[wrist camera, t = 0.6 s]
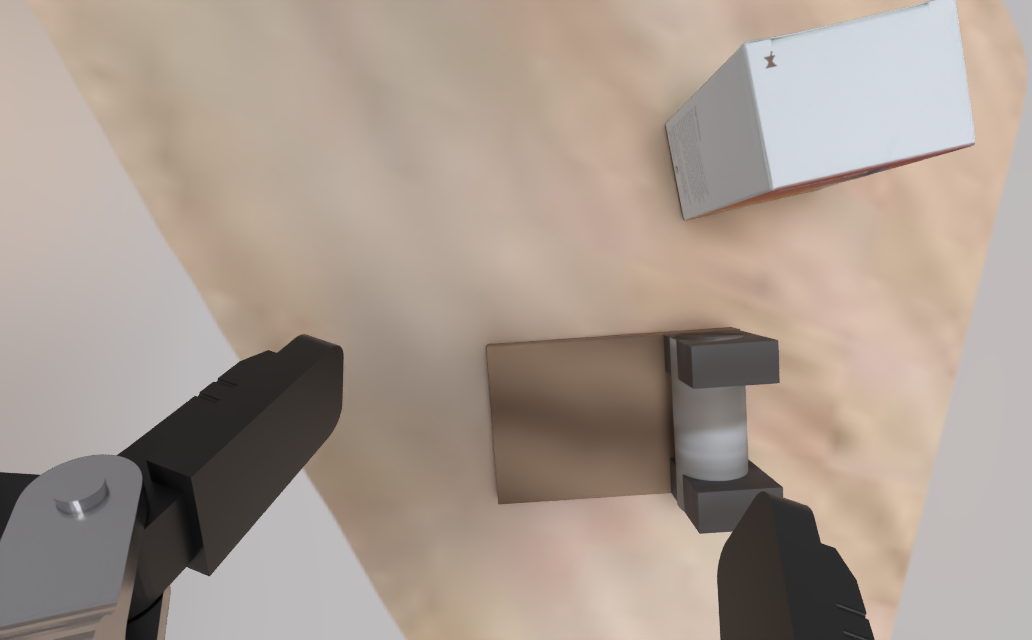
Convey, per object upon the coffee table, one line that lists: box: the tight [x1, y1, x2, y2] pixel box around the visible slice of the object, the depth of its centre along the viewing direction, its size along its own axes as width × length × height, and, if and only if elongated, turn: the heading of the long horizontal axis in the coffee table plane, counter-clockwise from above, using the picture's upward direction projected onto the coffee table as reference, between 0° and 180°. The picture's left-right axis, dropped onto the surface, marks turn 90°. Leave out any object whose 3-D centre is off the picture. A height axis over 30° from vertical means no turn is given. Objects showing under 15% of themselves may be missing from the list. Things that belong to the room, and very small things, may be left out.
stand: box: [486, 327, 783, 534], centre depth 28 cm, size 9×14×6 cm, turn 94°
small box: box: [666, 0, 975, 220], centre depth 25 cm, size 8×6×10 cm
